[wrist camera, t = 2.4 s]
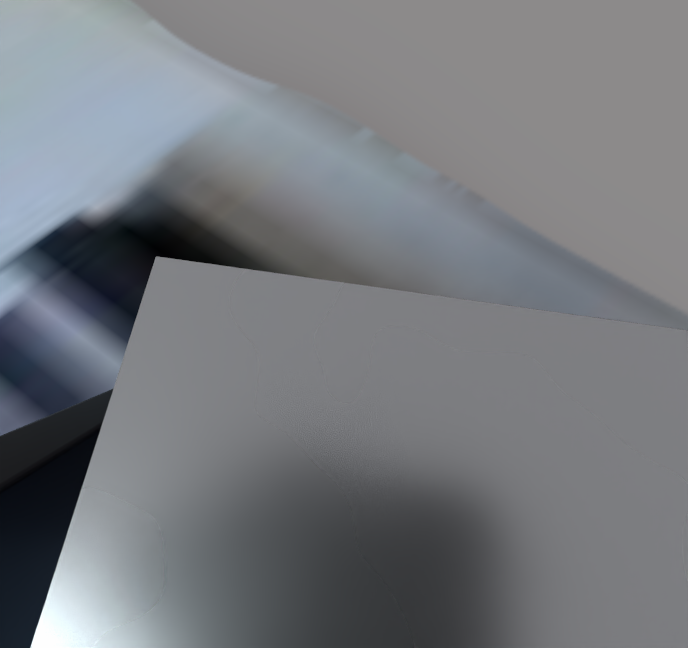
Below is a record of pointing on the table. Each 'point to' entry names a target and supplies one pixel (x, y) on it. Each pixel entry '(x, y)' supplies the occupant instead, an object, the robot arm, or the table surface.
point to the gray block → (378, 475)
